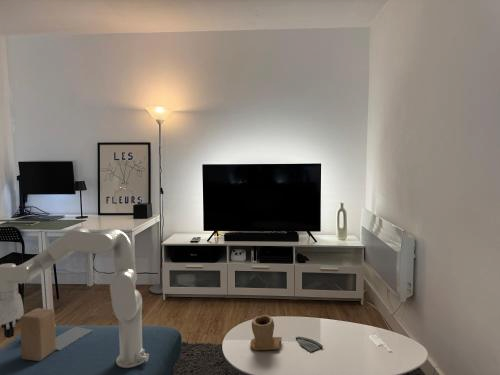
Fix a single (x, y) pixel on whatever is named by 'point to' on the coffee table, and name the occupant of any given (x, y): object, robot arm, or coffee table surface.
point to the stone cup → (264, 334)
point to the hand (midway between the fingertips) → (9, 336)
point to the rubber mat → (70, 337)
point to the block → (38, 334)
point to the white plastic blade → (379, 342)
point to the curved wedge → (308, 344)
